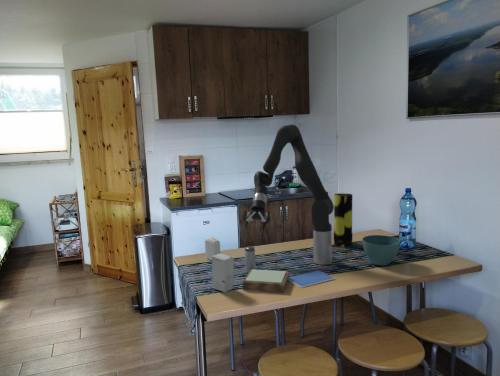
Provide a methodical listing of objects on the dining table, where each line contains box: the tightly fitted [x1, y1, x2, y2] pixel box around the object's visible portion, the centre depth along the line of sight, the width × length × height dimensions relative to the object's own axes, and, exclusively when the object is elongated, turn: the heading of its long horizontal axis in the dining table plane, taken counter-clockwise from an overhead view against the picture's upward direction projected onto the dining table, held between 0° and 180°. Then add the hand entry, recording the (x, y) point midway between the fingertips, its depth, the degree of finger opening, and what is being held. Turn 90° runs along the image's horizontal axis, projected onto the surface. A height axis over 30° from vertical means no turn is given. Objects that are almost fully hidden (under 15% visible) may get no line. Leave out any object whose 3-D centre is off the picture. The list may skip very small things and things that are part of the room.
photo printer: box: [204, 236, 221, 262], centre depth 220 cm, size 10×4×12 cm, turn 39°
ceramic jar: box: [244, 246, 256, 274], centre depth 201 cm, size 5×5×12 cm
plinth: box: [242, 268, 290, 293], centre depth 184 cm, size 18×16×4 cm
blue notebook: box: [288, 270, 336, 289], centre depth 189 cm, size 19×13×1 cm, turn 118°
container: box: [333, 192, 353, 248], centre depth 239 cm, size 11×11×30 cm
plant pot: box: [361, 234, 401, 266], centre depth 207 cm, size 18×18×12 cm
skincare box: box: [211, 253, 234, 293], centre depth 180 cm, size 8×6×15 cm
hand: (254, 229), depth 211 cm, fingers open, 8 cm apart
